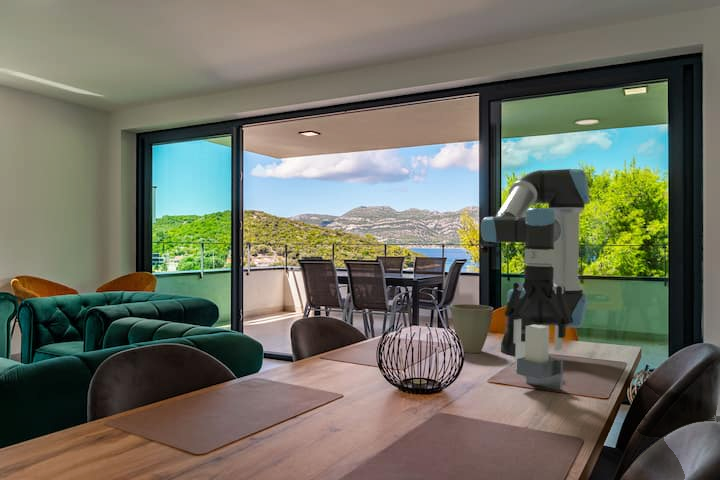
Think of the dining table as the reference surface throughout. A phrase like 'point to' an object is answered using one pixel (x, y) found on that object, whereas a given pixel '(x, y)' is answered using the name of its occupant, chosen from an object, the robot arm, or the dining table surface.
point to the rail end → (537, 343)
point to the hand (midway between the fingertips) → (537, 346)
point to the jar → (520, 348)
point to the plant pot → (471, 325)
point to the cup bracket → (542, 372)
